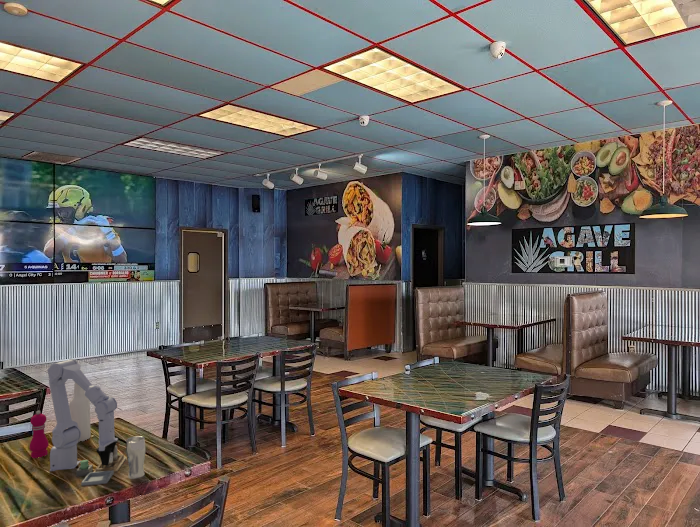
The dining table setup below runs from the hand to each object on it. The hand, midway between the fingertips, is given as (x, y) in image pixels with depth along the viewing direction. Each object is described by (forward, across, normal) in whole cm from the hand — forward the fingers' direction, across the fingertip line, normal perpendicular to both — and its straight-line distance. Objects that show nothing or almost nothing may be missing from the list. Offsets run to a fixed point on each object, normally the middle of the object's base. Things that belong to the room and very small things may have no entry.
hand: (107, 462), depth 204 cm
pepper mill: (+4, +24, +35) cm, 43 cm away
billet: (+2, 0, 0) cm, 2 cm away
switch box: (+4, -2, +8) cm, 9 cm away
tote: (+4, -9, +1) cm, 10 cm away
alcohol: (+4, +42, +24) cm, 49 cm away
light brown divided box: (+4, +4, 0) cm, 5 cm away
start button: (+2, -2, +8) cm, 9 cm away
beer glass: (+4, -8, -13) cm, 16 cm away
